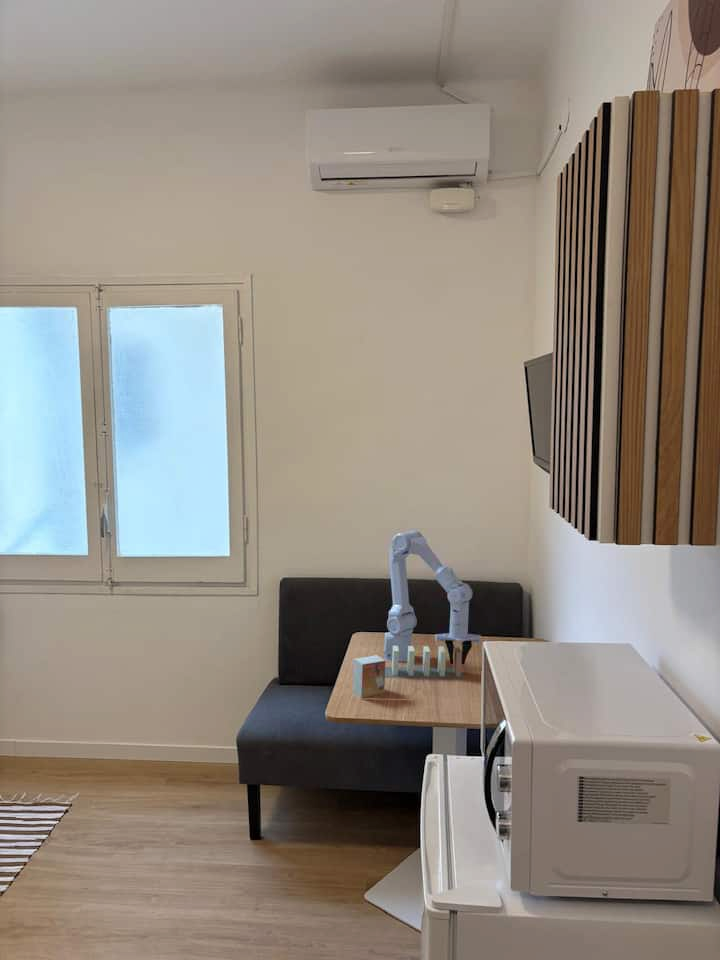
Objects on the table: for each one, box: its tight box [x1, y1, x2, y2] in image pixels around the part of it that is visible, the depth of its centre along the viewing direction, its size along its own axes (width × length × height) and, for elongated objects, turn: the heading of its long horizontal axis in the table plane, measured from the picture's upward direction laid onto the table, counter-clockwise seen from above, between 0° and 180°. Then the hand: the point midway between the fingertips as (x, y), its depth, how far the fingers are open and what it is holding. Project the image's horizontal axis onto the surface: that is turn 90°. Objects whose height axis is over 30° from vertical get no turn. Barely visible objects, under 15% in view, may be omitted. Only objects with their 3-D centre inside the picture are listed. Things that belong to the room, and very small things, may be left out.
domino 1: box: [391, 646, 400, 675], centre depth 220 cm, size 2×5×8 cm, turn 1°
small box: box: [352, 654, 386, 699], centre depth 203 cm, size 8×6×10 cm
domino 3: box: [422, 645, 431, 676], centre depth 220 cm, size 2×5×8 cm, turn 1°
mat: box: [385, 666, 466, 680], centre depth 220 cm, size 27×9×1 cm, turn 91°
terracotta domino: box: [452, 646, 462, 677], centre depth 220 cm, size 2×5×8 cm, turn 2°
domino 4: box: [437, 646, 447, 676], centre depth 220 cm, size 2×5×8 cm, turn 1°
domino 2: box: [406, 645, 415, 676], centre depth 220 cm, size 2×5×8 cm, turn 1°
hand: (457, 663), depth 220 cm, fingers open, 3 cm apart
